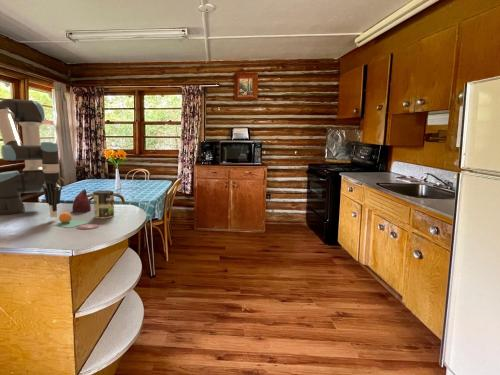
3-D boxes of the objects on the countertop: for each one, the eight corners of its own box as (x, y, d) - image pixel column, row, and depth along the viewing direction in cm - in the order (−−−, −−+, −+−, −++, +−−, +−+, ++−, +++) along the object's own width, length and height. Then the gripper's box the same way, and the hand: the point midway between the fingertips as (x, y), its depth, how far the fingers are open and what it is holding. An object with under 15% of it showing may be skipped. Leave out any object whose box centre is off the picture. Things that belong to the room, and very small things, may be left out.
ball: (64, 223, 167) (58, 224, 169) (74, 221, 172) (68, 222, 174) (62, 212, 167) (55, 214, 170) (72, 210, 172) (65, 212, 174)
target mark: (52, 225, 166) (52, 224, 166) (74, 220, 177) (74, 219, 177) (68, 228, 161) (68, 227, 161) (90, 223, 172) (90, 222, 172)
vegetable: (93, 215, 204) (100, 191, 203) (80, 216, 195) (86, 191, 193) (81, 209, 208) (87, 186, 206) (67, 210, 198) (73, 186, 196)
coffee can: (118, 215, 191) (117, 190, 189) (107, 219, 181) (106, 193, 179) (102, 214, 193) (101, 189, 191) (90, 218, 183) (89, 192, 181)
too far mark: (71, 227, 162) (71, 227, 162) (89, 223, 171) (89, 223, 171) (85, 230, 157) (85, 230, 157) (103, 226, 166) (103, 225, 166)
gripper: (35, 172, 171) (38, 217, 175) (52, 173, 166) (54, 220, 169) (50, 171, 178) (52, 214, 181) (66, 172, 172) (68, 217, 176)
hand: (53, 217), depth 175 cm, fingers closed
